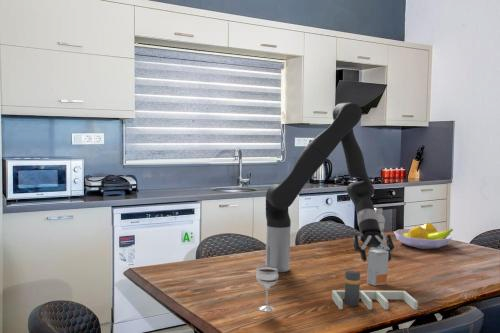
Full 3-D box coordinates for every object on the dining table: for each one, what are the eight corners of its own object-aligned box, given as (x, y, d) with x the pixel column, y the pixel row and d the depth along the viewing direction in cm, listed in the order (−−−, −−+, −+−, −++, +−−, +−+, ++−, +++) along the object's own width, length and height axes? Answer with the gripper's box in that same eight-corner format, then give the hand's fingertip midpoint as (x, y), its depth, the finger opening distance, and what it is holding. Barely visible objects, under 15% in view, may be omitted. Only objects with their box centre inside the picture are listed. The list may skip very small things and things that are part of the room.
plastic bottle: (384, 253, 212) (386, 209, 211) (369, 252, 214) (371, 209, 212) (383, 249, 219) (385, 207, 217) (368, 248, 220) (370, 207, 219)
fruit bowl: (383, 241, 238) (384, 219, 237) (427, 239, 246) (428, 218, 245) (418, 254, 211) (419, 230, 210) (466, 251, 219) (468, 228, 219)
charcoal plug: (346, 306, 142) (347, 274, 142) (342, 301, 147) (343, 270, 146) (361, 306, 143) (362, 274, 142) (356, 301, 147) (358, 270, 147)
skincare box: (374, 286, 163) (376, 252, 162) (366, 282, 167) (367, 250, 166) (387, 284, 166) (389, 251, 165) (379, 280, 170) (380, 248, 169)
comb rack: (339, 309, 140) (339, 301, 140) (331, 297, 150) (332, 290, 150) (417, 309, 141) (417, 301, 141) (404, 298, 151) (404, 290, 151)
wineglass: (258, 303, 143) (259, 265, 143) (280, 306, 142) (281, 267, 141) (252, 310, 137) (253, 270, 136) (274, 313, 135) (275, 273, 134)
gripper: (352, 217, 175) (360, 255, 164) (389, 217, 176) (399, 255, 165) (347, 228, 181) (355, 266, 170) (383, 229, 181) (393, 266, 171)
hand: (377, 260), depth 167 cm, fingers open, 8 cm apart
